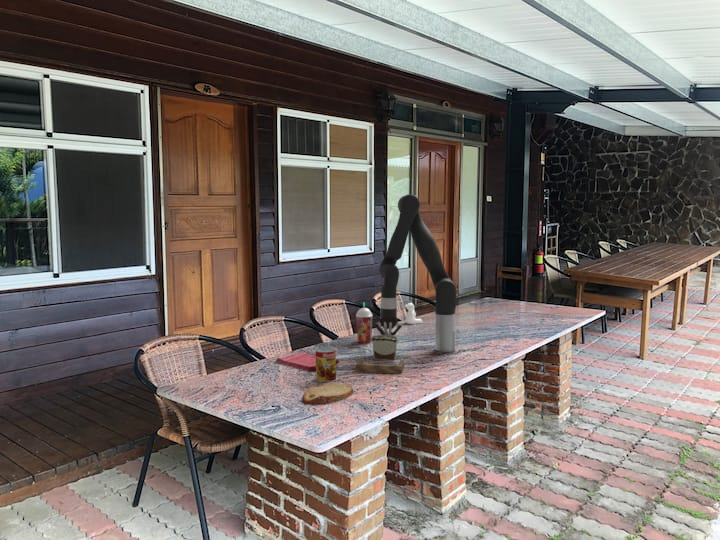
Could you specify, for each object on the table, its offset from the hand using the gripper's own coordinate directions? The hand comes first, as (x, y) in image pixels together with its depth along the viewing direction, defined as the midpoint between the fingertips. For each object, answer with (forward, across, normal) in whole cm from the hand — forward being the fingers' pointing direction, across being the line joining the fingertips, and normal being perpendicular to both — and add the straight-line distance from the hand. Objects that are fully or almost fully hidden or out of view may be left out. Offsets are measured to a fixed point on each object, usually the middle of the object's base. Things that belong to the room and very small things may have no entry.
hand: (388, 343), depth 277 cm
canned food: (+5, +18, +45) cm, 48 cm away
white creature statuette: (+4, -3, -66) cm, 66 cm away
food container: (+4, -1, +10) cm, 11 cm away
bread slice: (+5, +12, +64) cm, 65 cm away
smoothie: (+4, +15, -18) cm, 23 cm away
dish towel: (+5, +32, +23) cm, 40 cm away
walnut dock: (+4, -1, +27) cm, 28 cm away
